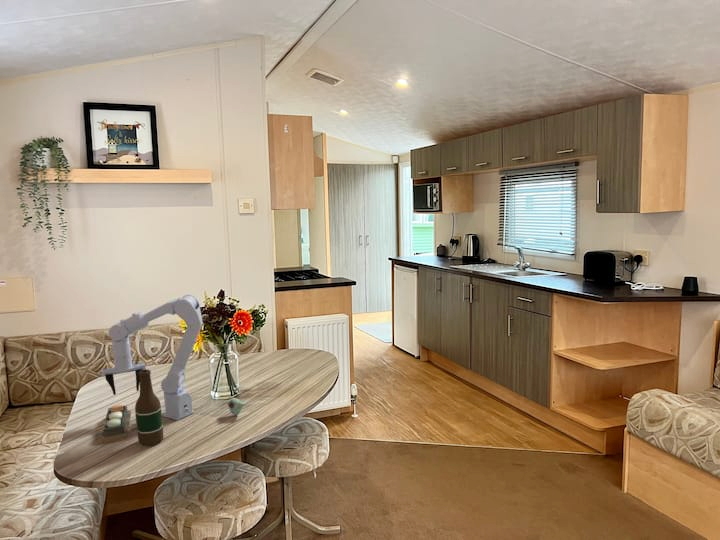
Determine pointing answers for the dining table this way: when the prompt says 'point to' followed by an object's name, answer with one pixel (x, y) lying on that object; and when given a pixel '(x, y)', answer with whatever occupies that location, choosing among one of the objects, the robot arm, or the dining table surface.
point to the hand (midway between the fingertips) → (126, 392)
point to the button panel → (118, 431)
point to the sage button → (113, 423)
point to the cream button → (115, 415)
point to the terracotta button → (117, 408)
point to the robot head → (235, 405)
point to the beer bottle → (148, 413)
